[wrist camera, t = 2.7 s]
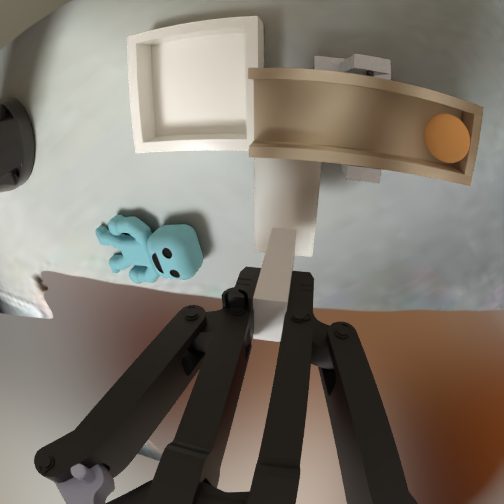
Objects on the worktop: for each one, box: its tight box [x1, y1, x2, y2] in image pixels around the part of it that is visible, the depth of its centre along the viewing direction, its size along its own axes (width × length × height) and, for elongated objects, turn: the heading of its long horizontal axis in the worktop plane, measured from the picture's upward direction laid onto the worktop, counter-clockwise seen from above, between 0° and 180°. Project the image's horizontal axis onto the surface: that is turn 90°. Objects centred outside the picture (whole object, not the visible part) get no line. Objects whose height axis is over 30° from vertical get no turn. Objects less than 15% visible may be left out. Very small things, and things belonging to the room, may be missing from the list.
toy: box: [96, 215, 203, 283], centre depth 34 cm, size 10×5×15 cm
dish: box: [127, 16, 264, 153], centre depth 22 cm, size 12×12×4 cm
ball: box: [424, 113, 470, 163], centre depth 14 cm, size 3×3×3 cm
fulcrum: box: [314, 53, 391, 183], centre depth 19 cm, size 11×10×8 cm
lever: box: [248, 68, 483, 257], centre depth 17 cm, size 15×14×3 cm
